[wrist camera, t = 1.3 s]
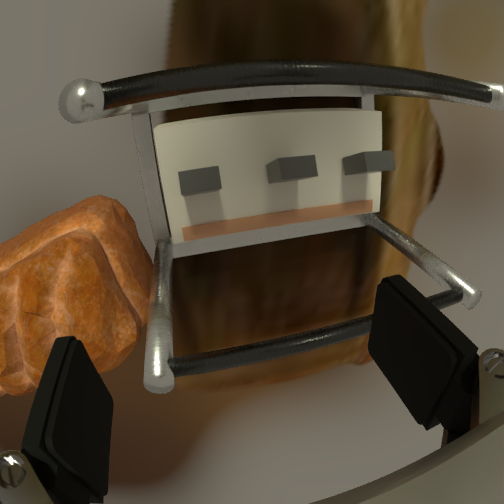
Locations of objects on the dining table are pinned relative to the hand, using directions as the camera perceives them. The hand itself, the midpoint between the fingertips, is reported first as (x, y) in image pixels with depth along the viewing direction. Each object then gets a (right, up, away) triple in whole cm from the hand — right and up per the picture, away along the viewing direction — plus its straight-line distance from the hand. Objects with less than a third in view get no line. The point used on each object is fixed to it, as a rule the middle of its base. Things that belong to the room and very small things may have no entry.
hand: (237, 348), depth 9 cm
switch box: (+2, +12, +22) cm, 26 cm away
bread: (-23, 0, +23) cm, 33 cm away
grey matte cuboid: (+10, +11, +18) cm, 23 cm away
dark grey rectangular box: (+3, +9, +17) cm, 20 cm away
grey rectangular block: (-4, +8, +16) cm, 18 cm away
